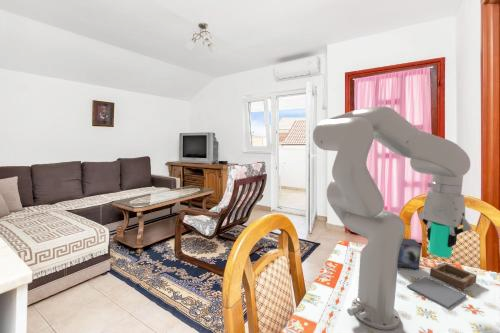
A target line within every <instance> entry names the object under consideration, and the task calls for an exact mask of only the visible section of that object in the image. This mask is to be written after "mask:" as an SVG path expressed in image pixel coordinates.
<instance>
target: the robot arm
mask: <svg viewBox="0 0 500 333" xmlns="http://www.w3.org/2000/svg"><path fill="white" fill-rule="evenodd" d="M312 140H313V143H314V145H316V147H317V148H319V149H321V150H323V151H330V152H331V151H332V152H337V153H336V155H335V158H334V161H333V165H332V169H331V174H332V178H333V179H332V180H331V181H330V182H329V184H328V185H327V189H326V198H327V199H326V200H327V202H328V204H329V205H330V207H331V208H332V210H333V212H334V213H335V215H336V216H337V217H338V219H339V220H340V222H341V223H342V224H343V226H344V227H345V228H347V229H348V230H349V231H352V232H353V233H355V234H357V235H358V236H362V237H363V238H365V239H367V241H368V242H367V243H366V245H364V246H363V248H362V249H361V252H360V254H359V269H358V271H359V274H358V284H357V285H358V289H357V297H355V298H353V300H352V302H351V306H350V307H349V308H347V310H346V311H347V314H348V315H349V316H350V317H352V316H355V317H356V318H357V319H358V320H359V321H361V322H362V323H364V324H366V325H367V326H369V327H372V328H374V329H378V330H385V331H386V330H387V331H388V330H389V331H390V330H394V329H396V328H398V327H399V325H400V319H401V318H400V317H401V316H400V314H399V312H398V311H397V310H396V309H395V302H396V301H395V300H396V292H397V291H396V289H397V278H398V268H397V266H398V256H399V251H400V246H401V243H402V240H403V238H405V237H404V236H405V235H406V234H405V233H406V224H405V222H404V220H403V219H402V218H401V217H400V216H399V215H398V214H396V213H394V212H392V211H390V210H387V209H384V207H385V200H384V197H383V195H382V193H381V191H380V189H379V187H378V185H377V184H376V182H375V180H374V178H373V176H372V175H371V173H370V171H369V169H368V166H367V165H368V164H367V162H368V157H369V153H370V150H371V146H372V144H373V142H374V140H375V141H377V142H378V143H379V144H381V145H383V146H384V147H385V148H387V149H388V150H389V151H391V152H392V153H394V154H395V155H398V156H400V157H403V158H406V159H407V158H408V159H410V160H409V165H410V167H411V169H413V171H415V172H417V173H419V174H425V175H432V178H431V179H432V180H431V182H428V183H426V184H427V185H426V186H427V187H429V188H430V190H428V191H427V193H426V196H425V200H424V204H423V208H422V209H423V210H422V211H421V212H419V213H418V214H417V217H418V218H419V219H420V220H421V221H422V222H423V224H424V225H425V228H426V229H427V232H426V237H427V240H428V242H429V241H430V233H431V222H435V223H438V224H442V225H446V226H450V234H451V235H449V237H448V247H452V248H453V247H454V246H455V245H457V240H458V235H459V234H462V233H464V232H467V231H471V230H472V229H473V227H472V226H471V224H470V223H469V222H468V220H467V219H466V203H465V202H466V201H465V196H464V194H462V189H463V180H464V176H465V175H467V174H468V172H469V170H470V169H471V158H470V157H469V155H468V153H467V152H466V151H465V150H464V149H463V148H462V147H460V146H459V145H458V144H457V143H456V142H453V141H452V140H449V139H447V138H443V137H441V136H438V135H435V134H432V133H430V132H427V131H423V130H420V129H419V128H417V127H416V126H415V125H413V124H412V123H411V122H409V121H408V120H407V119H406V118H405V117H404V116H402V115H401V114H400V113H399V112H398V111H396V110H395V109H393V108H391V107H389V106H383V105H382V106H371V107H367V108H366V107H365V108H360V109H354V110H351V111H348V112H345V113H342V114H340V115H336V116H332V117H330V118H326V119H324V120H321V121H320V122H319V123H317V124H316V126H315V127H314V130H313V131H312ZM460 226H462V227H460ZM459 227H460V228H459Z"/></svg>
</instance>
